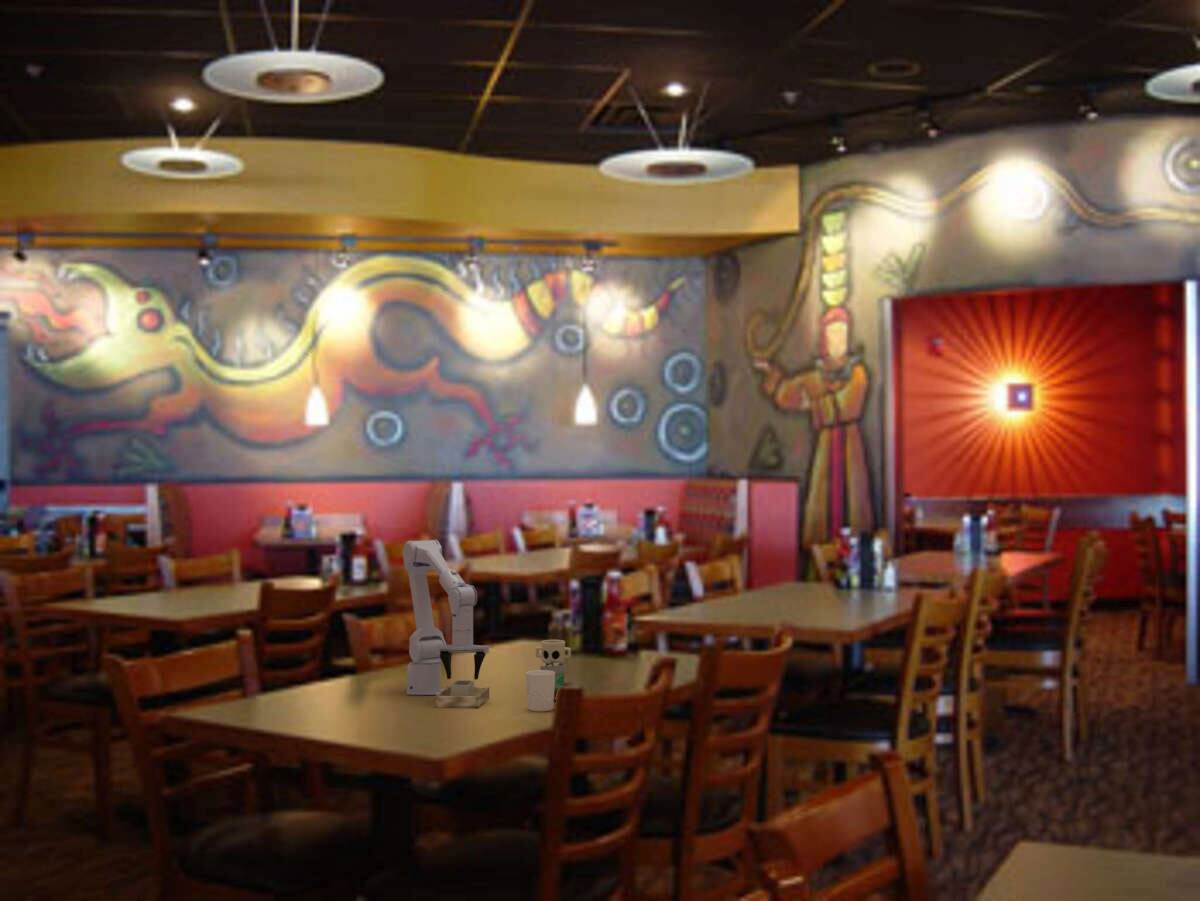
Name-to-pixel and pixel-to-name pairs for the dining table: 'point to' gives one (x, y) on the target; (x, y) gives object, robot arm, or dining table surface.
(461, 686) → the small crate
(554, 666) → the food container
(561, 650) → the character mug
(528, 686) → the white cup
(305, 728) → the dining table surface
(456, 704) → the big crate
